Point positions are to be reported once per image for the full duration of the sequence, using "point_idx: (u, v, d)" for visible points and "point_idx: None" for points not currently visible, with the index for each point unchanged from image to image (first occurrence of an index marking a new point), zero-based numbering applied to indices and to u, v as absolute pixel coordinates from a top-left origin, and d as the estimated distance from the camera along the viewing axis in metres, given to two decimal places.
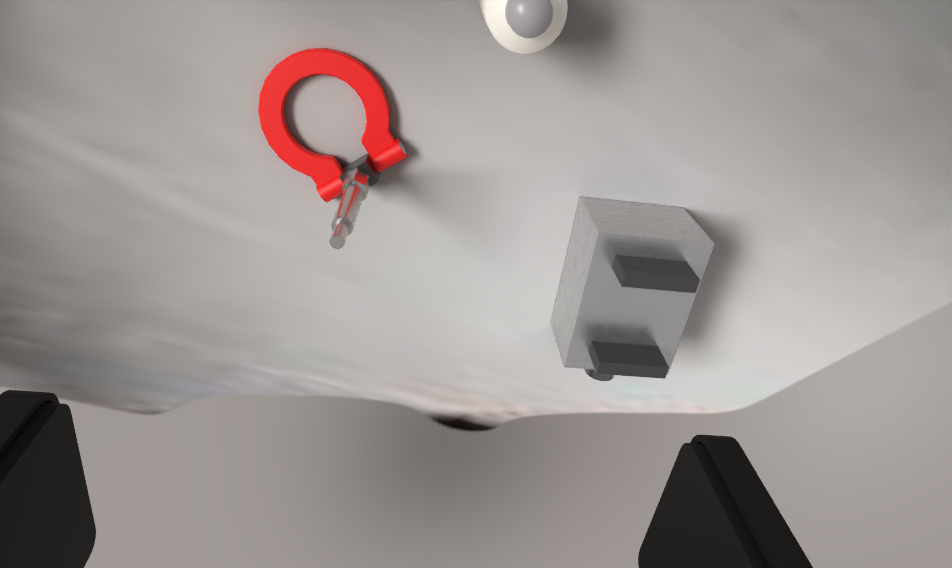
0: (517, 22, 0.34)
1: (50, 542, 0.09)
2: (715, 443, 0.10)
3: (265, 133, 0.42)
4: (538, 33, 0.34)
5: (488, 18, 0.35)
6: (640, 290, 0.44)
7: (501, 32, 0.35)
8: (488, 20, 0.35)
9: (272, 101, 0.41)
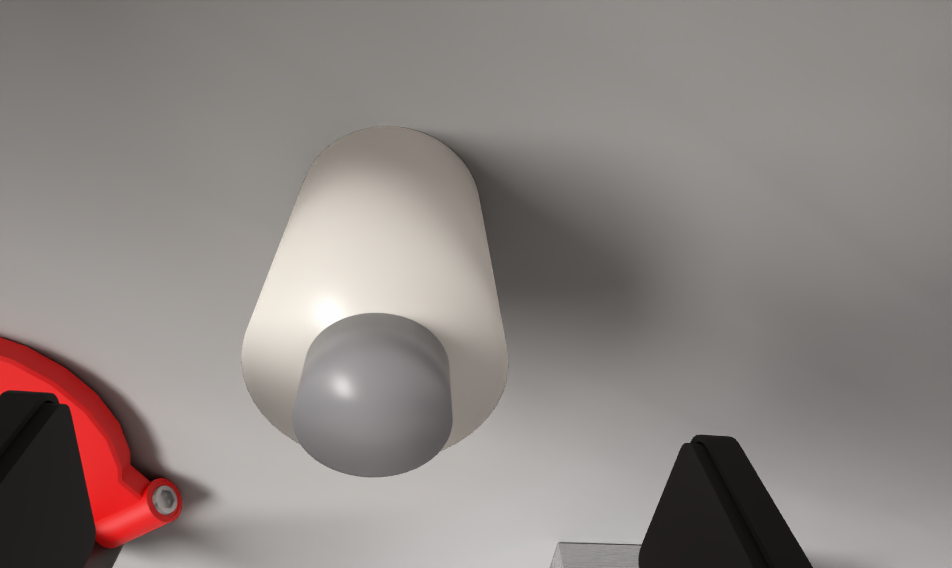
0: (332, 444, 0.10)
1: (50, 542, 0.09)
2: (715, 443, 0.10)
3: None
4: (408, 465, 0.10)
5: (254, 392, 0.11)
6: None
7: None
8: (255, 397, 0.11)
9: None
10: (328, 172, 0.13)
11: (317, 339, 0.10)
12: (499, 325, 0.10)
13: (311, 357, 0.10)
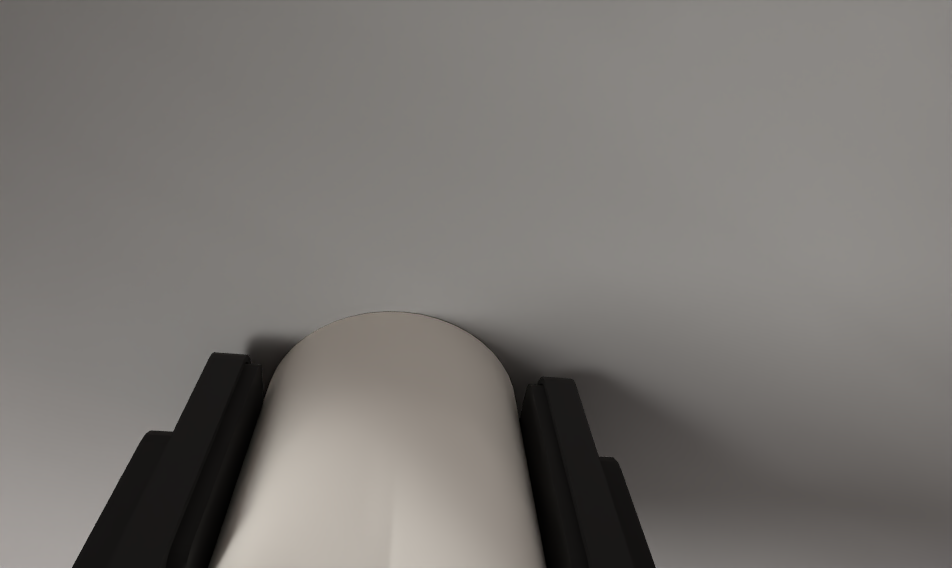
0: None
1: None
2: (552, 383, 0.10)
3: None
4: None
5: None
6: None
7: None
8: None
9: None
10: (298, 409, 0.09)
11: None
12: None
13: None
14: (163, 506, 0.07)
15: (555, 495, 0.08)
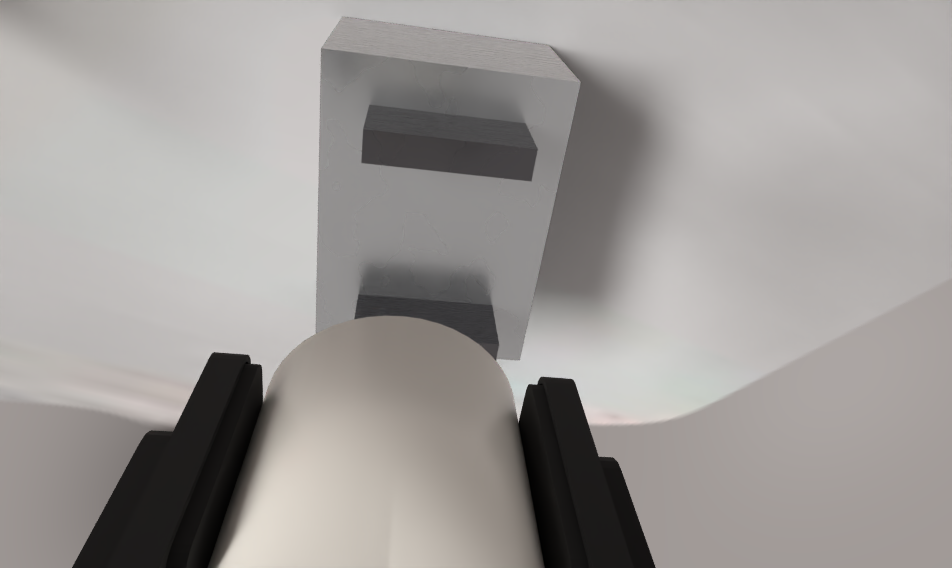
0: None
1: None
2: (552, 383, 0.10)
3: None
4: None
5: None
6: (438, 189, 0.22)
7: None
8: None
9: None
10: (296, 414, 0.09)
11: None
12: None
13: None
14: (163, 506, 0.07)
15: (555, 495, 0.08)
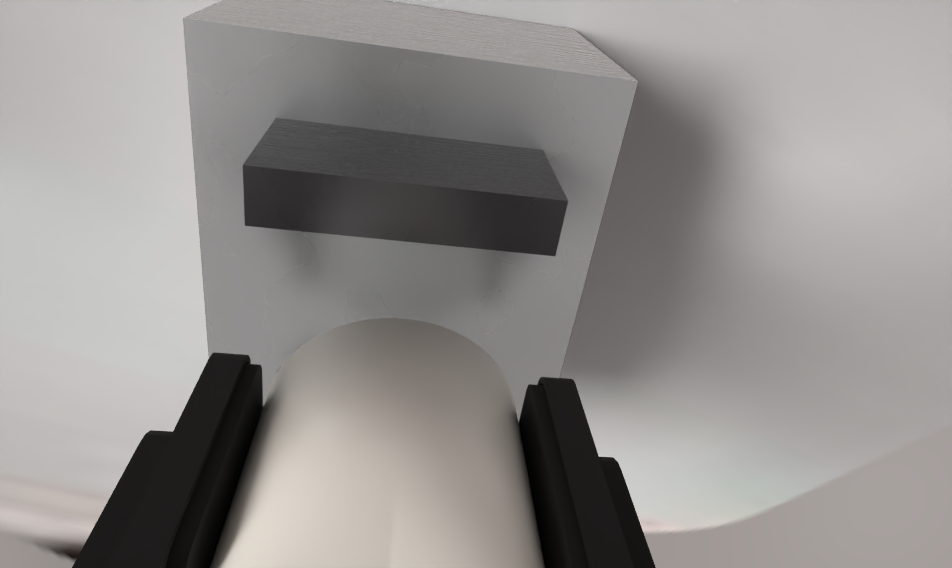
0: None
1: None
2: (552, 383, 0.10)
3: None
4: None
5: None
6: (399, 255, 0.13)
7: None
8: None
9: None
10: (297, 417, 0.09)
11: None
12: None
13: None
14: (163, 506, 0.07)
15: (555, 495, 0.08)
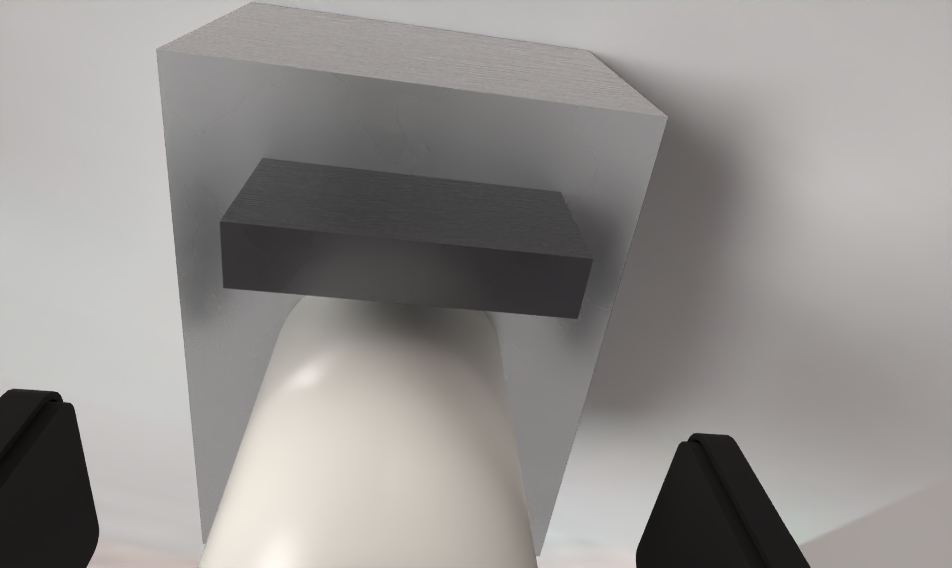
0: None
1: (54, 540, 0.09)
2: (712, 442, 0.10)
3: None
4: None
5: None
6: None
7: None
8: None
9: None
10: (306, 346, 0.10)
11: None
12: None
13: None
14: None
15: None
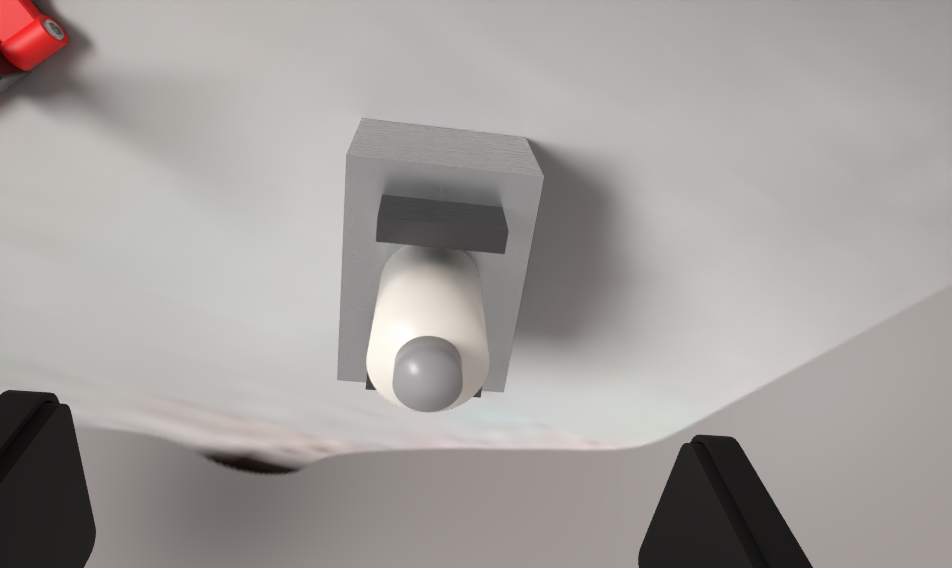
0: (409, 394, 0.22)
1: (50, 542, 0.09)
2: (715, 443, 0.10)
3: None
4: (442, 406, 0.22)
5: (370, 374, 0.23)
6: None
7: (392, 389, 0.23)
8: (370, 376, 0.23)
9: None
10: (400, 267, 0.26)
11: (401, 348, 0.23)
12: (484, 341, 0.23)
13: (400, 355, 0.22)
14: None
15: None
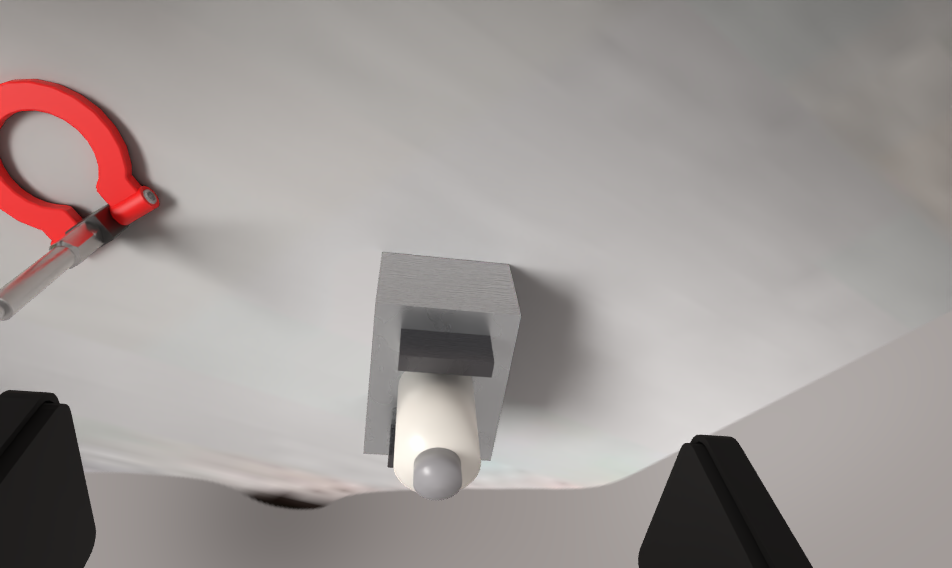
0: (424, 489, 0.31)
1: (50, 542, 0.09)
2: (715, 443, 0.10)
3: None
4: (448, 496, 0.32)
5: (396, 471, 0.32)
6: None
7: (411, 481, 0.33)
8: (396, 473, 0.32)
9: None
10: (415, 385, 0.35)
11: (418, 455, 0.32)
12: (477, 450, 0.32)
13: (418, 462, 0.31)
14: None
15: None
